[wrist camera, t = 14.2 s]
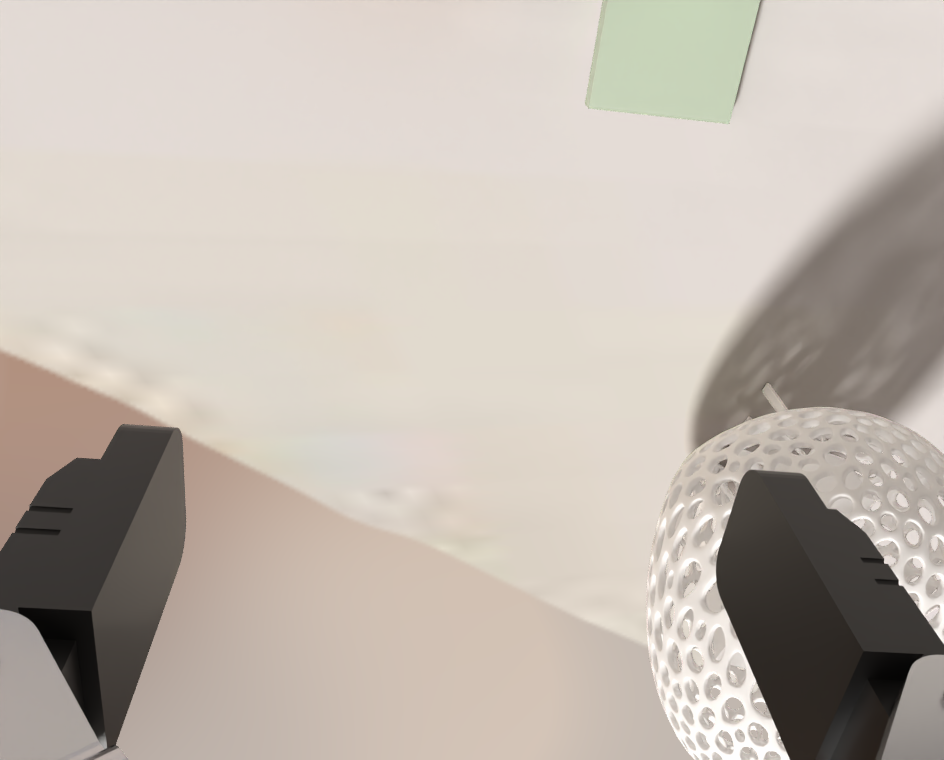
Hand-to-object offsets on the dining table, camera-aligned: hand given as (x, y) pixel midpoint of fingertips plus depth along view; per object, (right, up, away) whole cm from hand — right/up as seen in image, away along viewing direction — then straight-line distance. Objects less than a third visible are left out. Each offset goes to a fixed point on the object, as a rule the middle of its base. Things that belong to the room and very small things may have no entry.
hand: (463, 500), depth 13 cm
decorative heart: (+14, -3, +37) cm, 40 cm away
